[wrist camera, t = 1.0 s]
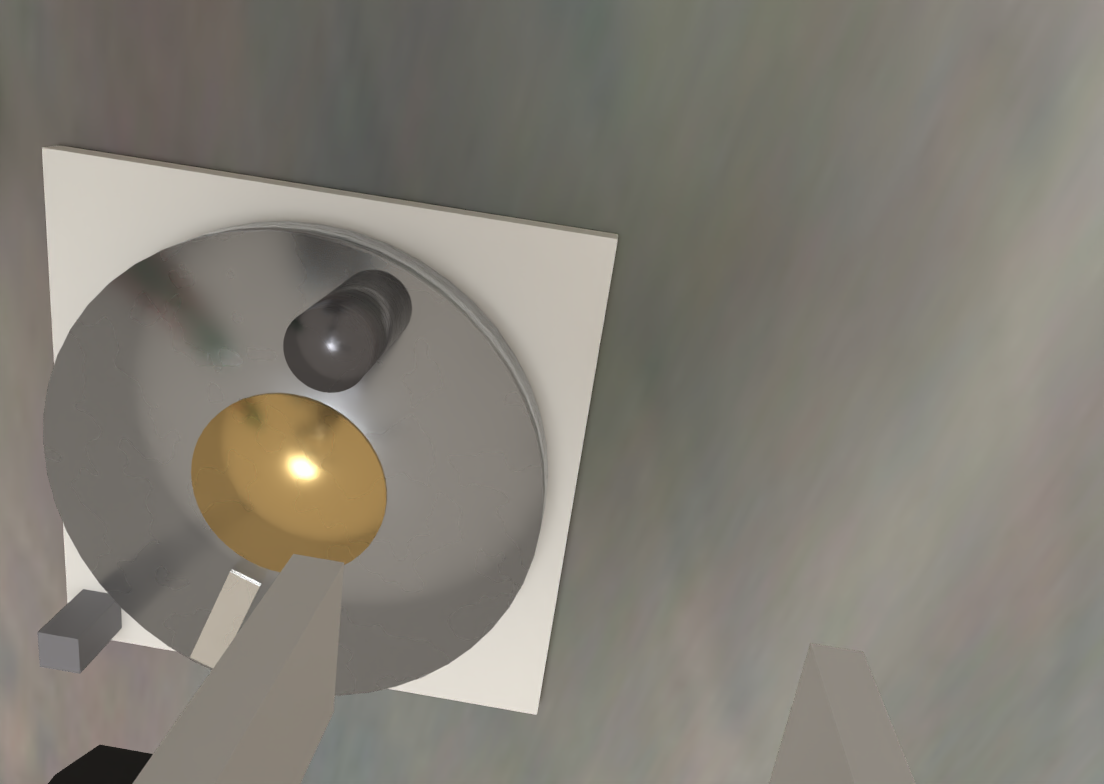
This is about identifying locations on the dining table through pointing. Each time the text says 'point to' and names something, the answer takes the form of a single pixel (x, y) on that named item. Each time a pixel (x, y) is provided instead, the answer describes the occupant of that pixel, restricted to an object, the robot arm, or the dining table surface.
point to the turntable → (298, 445)
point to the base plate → (415, 228)
